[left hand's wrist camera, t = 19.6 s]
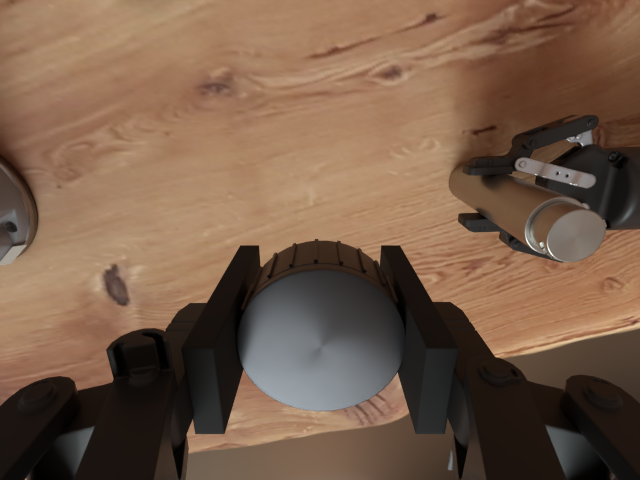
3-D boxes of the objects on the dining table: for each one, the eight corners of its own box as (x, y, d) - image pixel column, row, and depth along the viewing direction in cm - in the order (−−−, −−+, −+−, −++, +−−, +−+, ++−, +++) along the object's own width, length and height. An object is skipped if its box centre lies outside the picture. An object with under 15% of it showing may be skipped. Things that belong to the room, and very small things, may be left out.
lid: (394, 232, 11) (411, 261, 9) (393, 361, 13) (407, 409, 11) (239, 242, 12) (220, 272, 9) (258, 368, 13) (246, 417, 11)
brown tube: (456, 205, 40) (552, 277, 23) (443, 173, 39) (533, 223, 22) (491, 188, 39) (618, 249, 22) (479, 155, 38) (602, 192, 21)
